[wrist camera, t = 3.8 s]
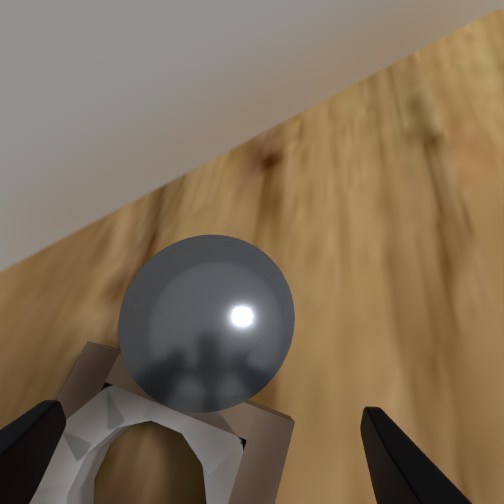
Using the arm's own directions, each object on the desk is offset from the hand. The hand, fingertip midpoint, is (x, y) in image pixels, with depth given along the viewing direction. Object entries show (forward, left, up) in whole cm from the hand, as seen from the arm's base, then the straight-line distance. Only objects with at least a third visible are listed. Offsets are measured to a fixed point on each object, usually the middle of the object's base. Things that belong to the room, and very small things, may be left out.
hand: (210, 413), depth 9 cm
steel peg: (+1, -2, -9) cm, 10 cm away
